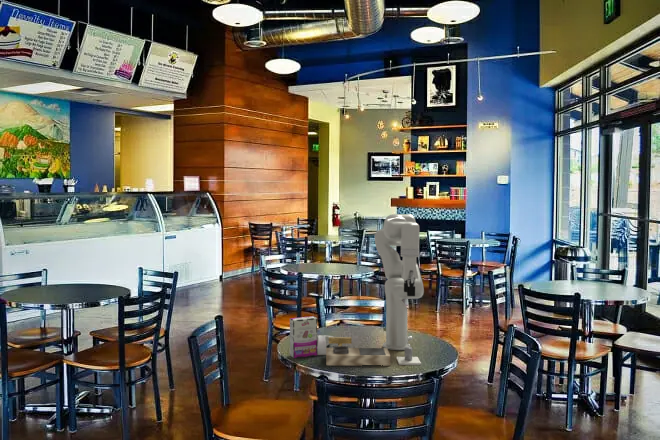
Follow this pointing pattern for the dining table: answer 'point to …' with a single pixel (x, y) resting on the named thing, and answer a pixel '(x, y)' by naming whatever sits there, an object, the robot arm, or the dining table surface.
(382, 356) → the beige flat block
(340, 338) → the t key
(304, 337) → the candy bar box
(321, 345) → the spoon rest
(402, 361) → the cover
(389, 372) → the dining table surface
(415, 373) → the dining table surface
